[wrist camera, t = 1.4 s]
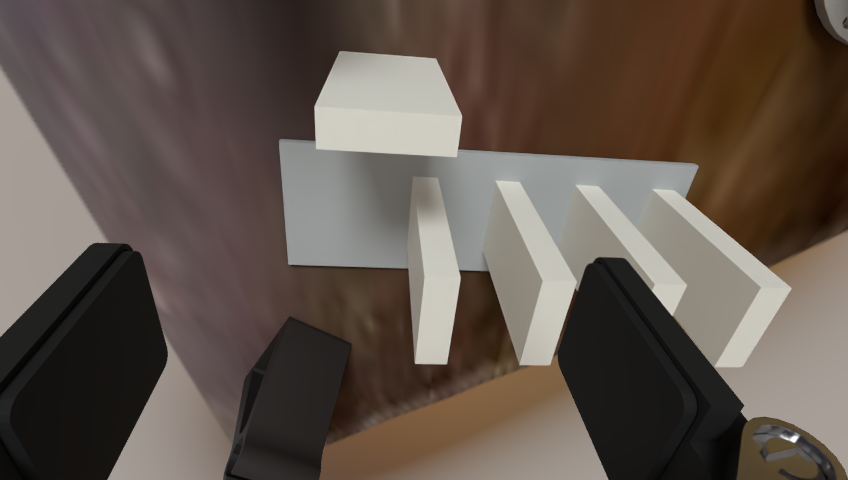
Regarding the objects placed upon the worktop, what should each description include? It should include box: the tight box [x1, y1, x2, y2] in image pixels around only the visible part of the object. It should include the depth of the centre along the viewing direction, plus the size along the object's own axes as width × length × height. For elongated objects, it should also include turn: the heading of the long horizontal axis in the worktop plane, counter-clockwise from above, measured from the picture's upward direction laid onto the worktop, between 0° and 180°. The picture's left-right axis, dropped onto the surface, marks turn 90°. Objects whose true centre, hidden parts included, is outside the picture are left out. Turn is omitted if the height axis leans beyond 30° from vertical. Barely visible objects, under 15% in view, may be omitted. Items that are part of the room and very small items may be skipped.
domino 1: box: [315, 51, 462, 157], centre depth 24 cm, size 2×6×12 cm, turn 85°
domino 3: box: [483, 181, 577, 365], centre depth 30 cm, size 2×6×12 cm, turn 175°
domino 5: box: [637, 189, 792, 367], centre depth 31 cm, size 2×6×12 cm, turn 175°
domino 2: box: [407, 176, 461, 364], centre depth 30 cm, size 2×6×12 cm, turn 175°
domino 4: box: [557, 185, 687, 316], centre depth 31 cm, size 2×6×12 cm, turn 175°
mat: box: [279, 139, 699, 271], centre depth 35 cm, size 30×10×1 cm, turn 85°
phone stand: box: [223, 317, 351, 480], centre depth 37 cm, size 9×6×12 cm, turn 144°
